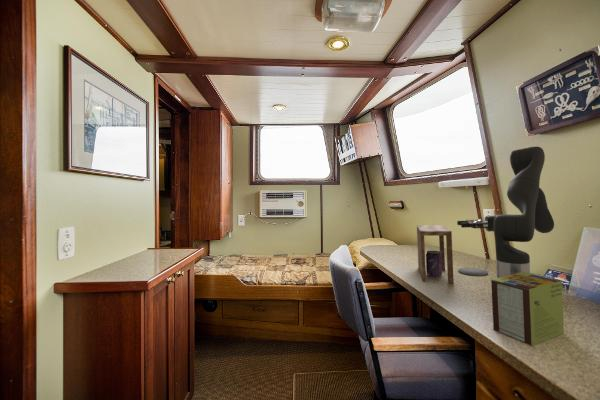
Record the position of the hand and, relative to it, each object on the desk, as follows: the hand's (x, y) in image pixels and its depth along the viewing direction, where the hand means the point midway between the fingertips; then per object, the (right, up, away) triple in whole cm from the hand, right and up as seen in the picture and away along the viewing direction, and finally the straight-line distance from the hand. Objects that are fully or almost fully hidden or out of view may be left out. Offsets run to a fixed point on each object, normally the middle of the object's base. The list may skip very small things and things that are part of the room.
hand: (459, 224), depth 135 cm
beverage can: (-10, -27, +4) cm, 29 cm away
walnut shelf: (-10, -26, +4) cm, 28 cm away
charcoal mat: (+10, -25, +6) cm, 28 cm away
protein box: (-11, -27, -54) cm, 62 cm away
